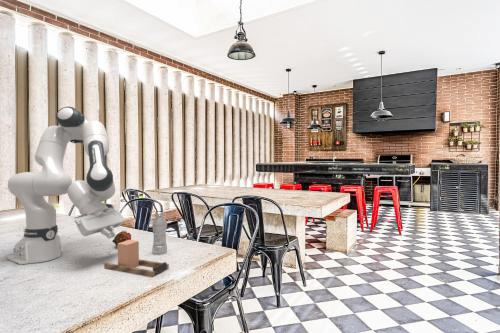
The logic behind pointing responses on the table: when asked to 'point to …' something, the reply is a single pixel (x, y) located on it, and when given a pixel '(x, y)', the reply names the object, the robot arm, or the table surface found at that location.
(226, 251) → the table surface
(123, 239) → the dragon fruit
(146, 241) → the table surface
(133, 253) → the block
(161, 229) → the plastic bottle
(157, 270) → the chute
